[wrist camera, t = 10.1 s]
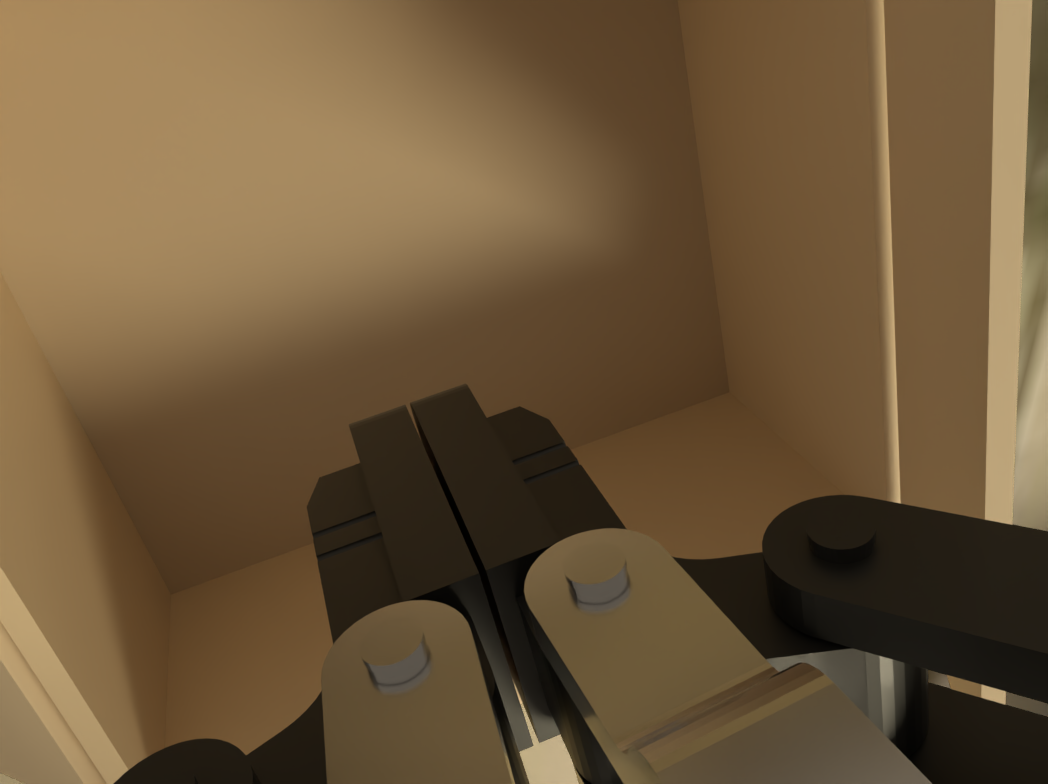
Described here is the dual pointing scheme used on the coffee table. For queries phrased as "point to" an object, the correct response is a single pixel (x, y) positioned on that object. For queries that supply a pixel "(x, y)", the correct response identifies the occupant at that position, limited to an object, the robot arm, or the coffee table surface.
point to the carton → (408, 299)
